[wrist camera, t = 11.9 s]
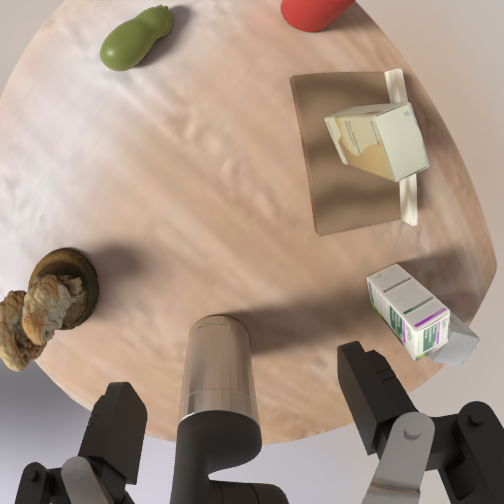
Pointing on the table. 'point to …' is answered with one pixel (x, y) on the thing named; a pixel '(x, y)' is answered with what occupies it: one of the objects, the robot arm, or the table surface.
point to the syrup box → (409, 310)
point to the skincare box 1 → (379, 139)
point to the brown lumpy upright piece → (46, 306)
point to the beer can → (312, 13)
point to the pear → (135, 38)
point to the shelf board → (328, 159)
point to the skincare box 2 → (456, 344)
